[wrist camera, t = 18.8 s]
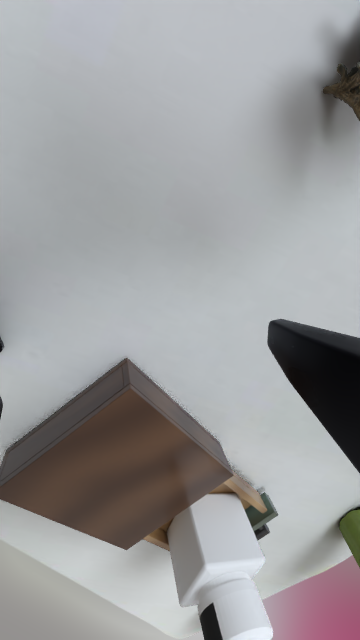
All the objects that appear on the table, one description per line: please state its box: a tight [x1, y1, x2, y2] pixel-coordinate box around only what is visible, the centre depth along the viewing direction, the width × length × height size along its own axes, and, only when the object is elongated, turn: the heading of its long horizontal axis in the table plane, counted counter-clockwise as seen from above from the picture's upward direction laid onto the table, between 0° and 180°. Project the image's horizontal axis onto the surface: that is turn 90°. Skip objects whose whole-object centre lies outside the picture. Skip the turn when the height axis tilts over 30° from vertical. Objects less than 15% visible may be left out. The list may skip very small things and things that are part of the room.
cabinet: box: [0, 358, 234, 550], centre depth 27 cm, size 16×14×4 cm
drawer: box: [143, 469, 278, 551], centre depth 34 cm, size 20×13×3 cm, turn 35°
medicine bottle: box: [167, 493, 273, 640], centre depth 29 cm, size 7×7×12 cm
